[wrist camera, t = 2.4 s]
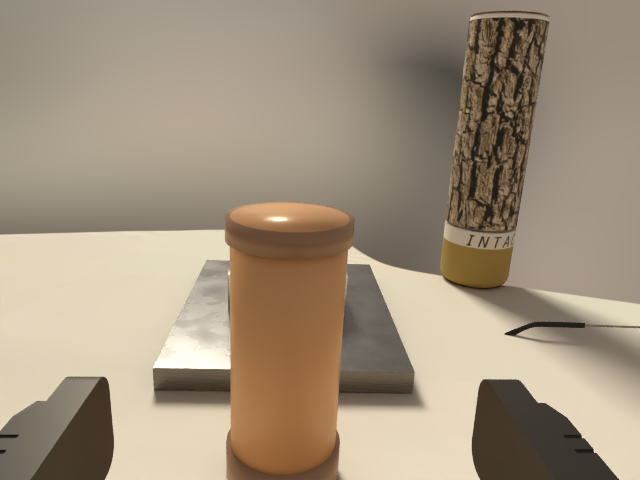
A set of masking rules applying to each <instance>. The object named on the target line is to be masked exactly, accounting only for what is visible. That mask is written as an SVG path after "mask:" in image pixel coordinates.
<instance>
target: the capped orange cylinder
mask: <svg viewBox="0 0 640 480" xmlns="http://www.w3.org/2000/svg"><path fill="white" fill-rule="evenodd" d="M354 222H355V219H354V217H353V216H352V215H351V214H349V213H348V212H345V211H343V210H340V209H337V208H334V207H329V206H324V205H319V204H311V203H300V202H264V203H254V204H247V205H243V206H239V207H235V208H233V209H231V210H229V211H227V213H226V214H225V241H226V243H227V244H228V245H229V246H230V390H231V428H230V430H229V432H228V436H227V442H226V455H227V480H337V475H338V460H339V445H340V439H339V434H338V432H337V429H336V427H337V411H338V396H339V380H340V365H341V349H342V334H343V318H344V303H345V287H346V272H347V256H348V249H350V248H351V247H352V245H353V235H354Z"/></svg>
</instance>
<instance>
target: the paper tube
mask: <svg viewBox="0 0 640 480" xmlns="http://www.w3.org/2000/svg"><path fill="white" fill-rule="evenodd" d="M470 17H471V19H470V22H469V29H468V37H467V45H466V53H465V62H464V70H463V79H462V87H461V95H460V104H459V112H458V120H457V129H456V137H455V146H454V154H453V163H452V171H451V179H450V188H449V196H448V205H447V213H446V221H445V229H444V241H443V249H442V257H441V265H440V270H441V272H442V274H443V276H445V277H446V278H447V279H448V280H450V281H452V282H455V283H457V284H461V285H465V286H469V287H477V288H492V287H497V286H500V285H502V284H504V283H505V281H506V280H507V279H508V274H509V269H510V262H511V256H512V250H513V244H514V239H515V233H516V226H517V221H518V214H519V208H520V202H521V196H522V189H523V183H524V177H525V171H526V165H527V158H528V152H529V146H530V140H531V133H532V127H533V121H534V115H535V108H536V102H537V96H538V90H539V84H540V77H541V71H542V65H543V59H544V52H545V46H546V40H547V33H548V27H549V19H548V18H549V17H550V16H549V15H547V14H543V13H536V12H526V11H492V12H482V13H476V14H472V15H471V16H470Z"/></svg>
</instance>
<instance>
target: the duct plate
mask: <svg viewBox="0 0 640 480" xmlns="http://www.w3.org/2000/svg"><path fill="white" fill-rule="evenodd" d="M153 379H154V390H221V391H231V390H230V261H218V260H207V261H206V263H205V265H204V267H203V269H202V271H201V273H200V275H199V277H198V279H197V281H196V283H195V285H194V287H193V289H192V291H191V293H190V295H189V297H188V299H187V301H186V303H185V305H184V307H183V309H182V311H181V313H180V315H179V317H178V319H177V321H176V323H175V325H174V327H173V329H172V331H171V333H170V335H169V337H168V339H167V341H166V343H165V345H164V347H163V349H162V351H161V353H160V355H159V357H158V359H157V361H156V363H155V365H154V367H153ZM413 380H414V370H413V367H412V365H411V363H410V360H409V358H408V355H407V353H406V351H405V348H404V346H403V344H402V341H401V339H400V336H399V334H398V332H397V329H396V327H395V324H394V322H393V320H392V317H391V315H390V313H389V310H388V308H387V305H386V303H385V301H384V298H383V296H382V293H381V291H380V289H379V286H378V284H377V281H376V279H375V277H374V274H373V272H372V270H371V267H370V265H362V264H347V272H346V287H345V303H344V318H343V334H342V349H341V365H340V380H339V392H375V393H412V389H413Z"/></svg>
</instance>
